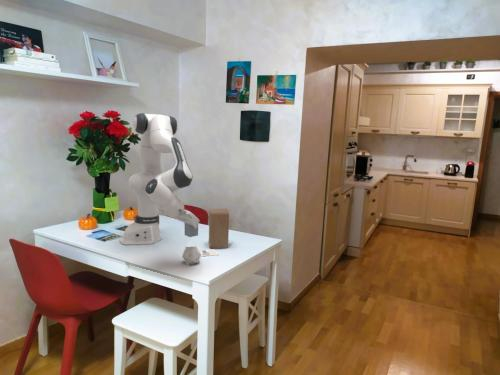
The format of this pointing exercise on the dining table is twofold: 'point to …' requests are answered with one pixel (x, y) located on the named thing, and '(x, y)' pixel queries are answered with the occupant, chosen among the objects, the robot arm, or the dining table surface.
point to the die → (191, 255)
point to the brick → (190, 230)
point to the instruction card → (208, 253)
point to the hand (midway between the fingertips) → (192, 225)
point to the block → (218, 228)
